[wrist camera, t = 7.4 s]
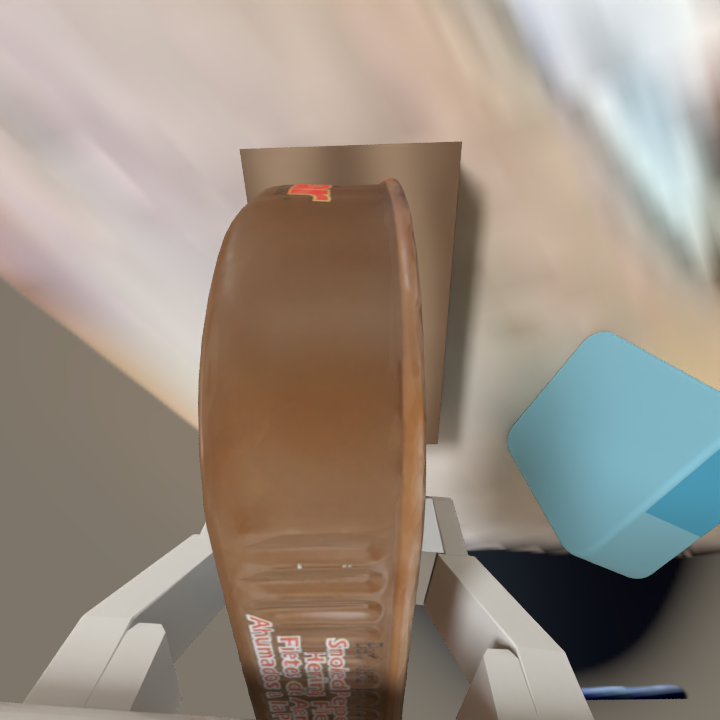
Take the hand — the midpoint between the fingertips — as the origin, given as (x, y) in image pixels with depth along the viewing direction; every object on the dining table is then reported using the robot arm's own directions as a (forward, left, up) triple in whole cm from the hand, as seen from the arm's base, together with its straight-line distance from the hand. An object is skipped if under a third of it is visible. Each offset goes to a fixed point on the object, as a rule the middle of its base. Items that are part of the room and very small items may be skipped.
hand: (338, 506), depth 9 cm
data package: (-18, +6, -19) cm, 27 cm away
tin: (+1, 0, -4) cm, 4 cm away
